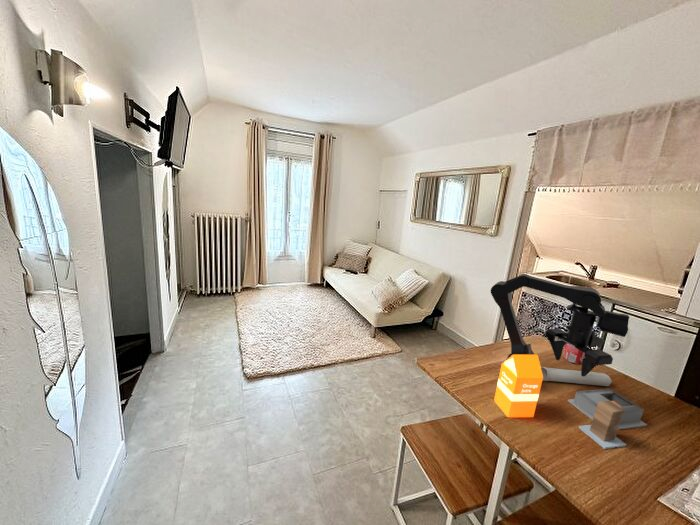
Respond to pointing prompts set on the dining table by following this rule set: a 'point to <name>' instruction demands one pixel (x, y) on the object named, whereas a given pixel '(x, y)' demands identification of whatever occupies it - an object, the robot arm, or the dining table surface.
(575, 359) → the soda can
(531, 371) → the orange juice
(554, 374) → the tube
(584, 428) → the mat
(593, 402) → the grey hollow block
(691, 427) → the dining table surface
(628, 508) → the dining table surface
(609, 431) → the light wood cuboid
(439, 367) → the dining table surface
